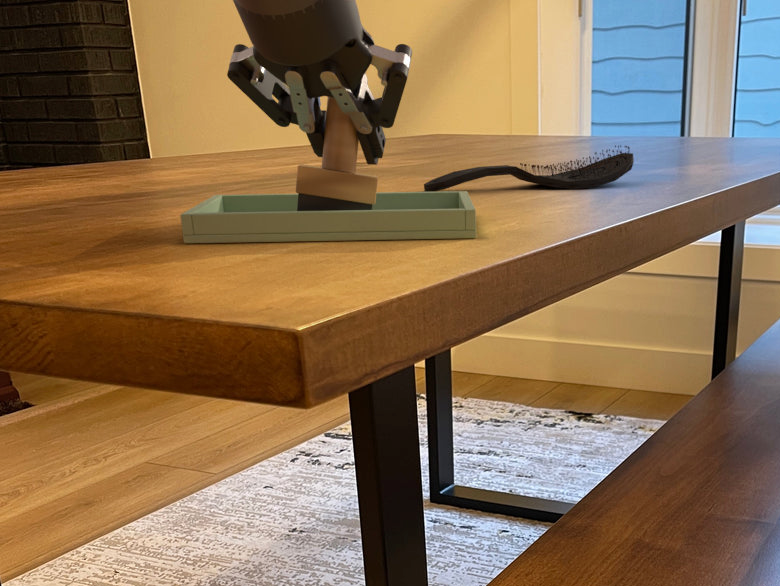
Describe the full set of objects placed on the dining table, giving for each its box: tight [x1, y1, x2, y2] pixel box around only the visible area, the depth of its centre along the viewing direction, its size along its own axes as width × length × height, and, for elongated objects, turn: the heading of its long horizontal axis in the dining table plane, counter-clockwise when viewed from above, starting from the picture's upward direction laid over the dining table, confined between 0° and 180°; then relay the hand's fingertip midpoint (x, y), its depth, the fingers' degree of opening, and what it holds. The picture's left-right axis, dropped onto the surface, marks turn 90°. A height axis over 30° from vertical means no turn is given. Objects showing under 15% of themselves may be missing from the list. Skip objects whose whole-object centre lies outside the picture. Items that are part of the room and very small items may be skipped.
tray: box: [179, 190, 477, 245], centre depth 80 cm, size 22×14×2 cm, turn 95°
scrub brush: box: [295, 97, 379, 211], centre depth 76 cm, size 6×4×10 cm, turn 98°
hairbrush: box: [423, 144, 635, 192], centre depth 110 cm, size 8×4×25 cm
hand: (352, 154), depth 79 cm, fingers closed on scrub brush, 3 cm apart
